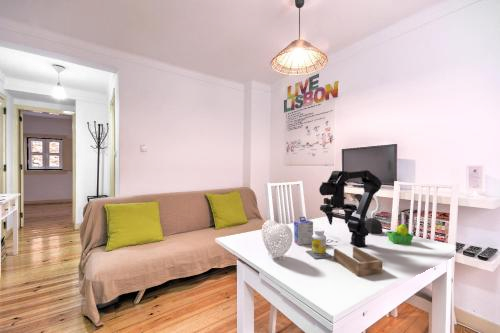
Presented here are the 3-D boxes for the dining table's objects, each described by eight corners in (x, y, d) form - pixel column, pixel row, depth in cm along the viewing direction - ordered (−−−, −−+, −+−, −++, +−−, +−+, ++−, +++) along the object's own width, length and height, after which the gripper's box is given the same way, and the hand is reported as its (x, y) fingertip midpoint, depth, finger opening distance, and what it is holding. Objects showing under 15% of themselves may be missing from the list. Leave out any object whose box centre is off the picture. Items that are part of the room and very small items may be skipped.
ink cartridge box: (308, 240, 131) (308, 215, 131) (313, 243, 126) (314, 217, 126) (293, 242, 128) (293, 217, 128) (298, 245, 123) (298, 219, 123)
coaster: (321, 250, 116) (321, 249, 116) (332, 257, 107) (332, 256, 107) (305, 252, 114) (305, 250, 114) (315, 259, 105) (315, 257, 105)
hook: (360, 230, 151) (360, 193, 151) (375, 230, 152) (375, 193, 152) (371, 235, 140) (371, 195, 139) (387, 235, 141) (387, 195, 141)
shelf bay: (355, 257, 107) (355, 247, 107) (382, 273, 91) (382, 261, 91) (333, 259, 104) (333, 249, 104) (358, 276, 89) (358, 264, 89)
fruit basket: (406, 240, 131) (406, 221, 131) (415, 245, 123) (415, 225, 123) (385, 239, 133) (385, 220, 133) (393, 245, 124) (393, 224, 124)
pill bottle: (310, 251, 113) (310, 228, 113) (322, 250, 114) (322, 227, 114) (314, 256, 107) (315, 232, 107) (328, 255, 107) (328, 231, 107)
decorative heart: (256, 254, 111) (256, 219, 111) (272, 249, 117) (272, 216, 117) (281, 267, 96) (281, 228, 96) (298, 261, 102) (298, 224, 102)
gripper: (344, 192, 128) (344, 219, 128) (314, 193, 124) (314, 221, 124) (357, 194, 117) (357, 224, 117) (325, 195, 113) (325, 226, 113)
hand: (338, 224), depth 118 cm, fingers open, 9 cm apart
